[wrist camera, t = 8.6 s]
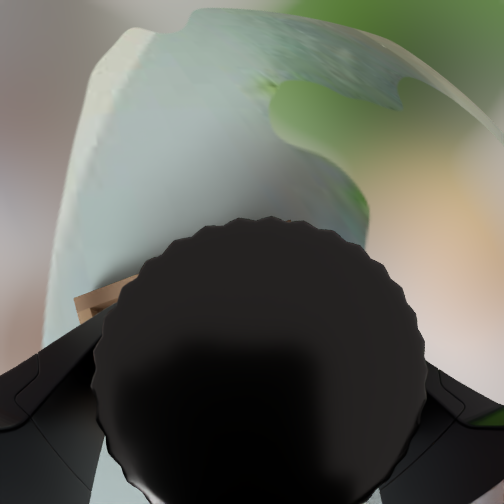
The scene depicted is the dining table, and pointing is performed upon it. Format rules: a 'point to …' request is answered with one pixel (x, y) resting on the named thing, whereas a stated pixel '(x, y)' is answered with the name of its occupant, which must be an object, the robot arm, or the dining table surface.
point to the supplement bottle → (260, 369)
